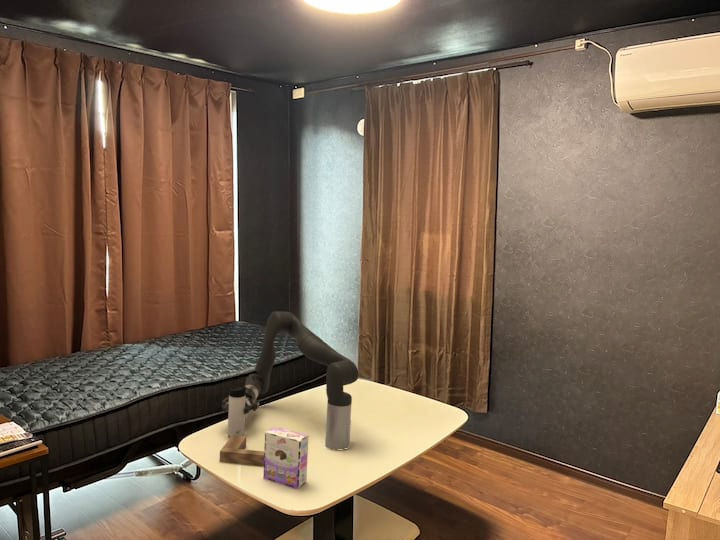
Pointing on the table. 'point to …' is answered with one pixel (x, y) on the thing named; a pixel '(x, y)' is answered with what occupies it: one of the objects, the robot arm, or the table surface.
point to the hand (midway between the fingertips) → (235, 410)
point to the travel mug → (236, 411)
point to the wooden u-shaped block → (240, 452)
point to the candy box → (285, 457)
